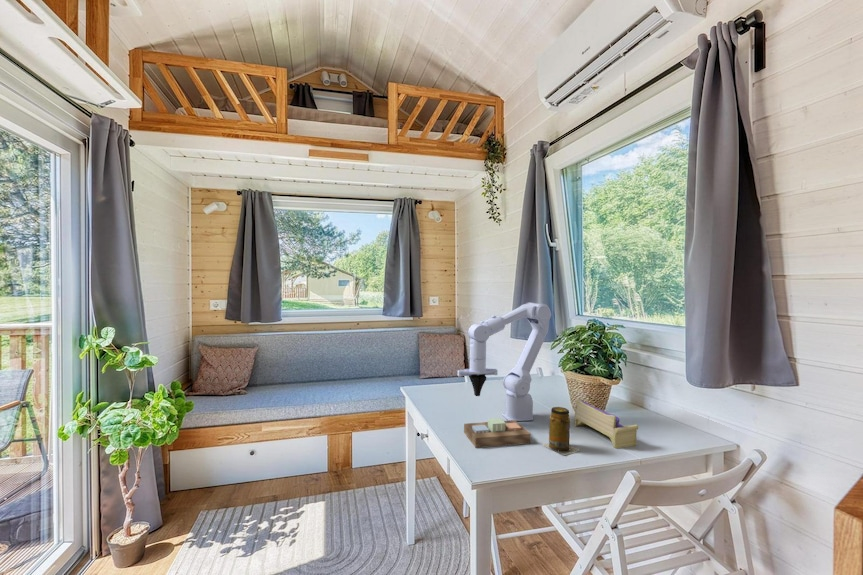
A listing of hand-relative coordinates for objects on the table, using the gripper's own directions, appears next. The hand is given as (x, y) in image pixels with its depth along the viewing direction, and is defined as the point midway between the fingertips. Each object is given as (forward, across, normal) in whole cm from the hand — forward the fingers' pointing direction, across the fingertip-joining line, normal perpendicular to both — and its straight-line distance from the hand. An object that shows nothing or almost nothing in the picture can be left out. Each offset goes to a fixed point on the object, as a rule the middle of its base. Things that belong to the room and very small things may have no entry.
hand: (477, 395), depth 144 cm
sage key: (+8, -2, +14) cm, 16 cm away
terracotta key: (+10, -8, +14) cm, 19 cm away
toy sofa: (+10, -39, +18) cm, 44 cm away
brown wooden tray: (+10, -2, +14) cm, 17 cm away
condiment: (+10, -19, +25) cm, 33 cm away
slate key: (+10, +3, +14) cm, 17 cm away
